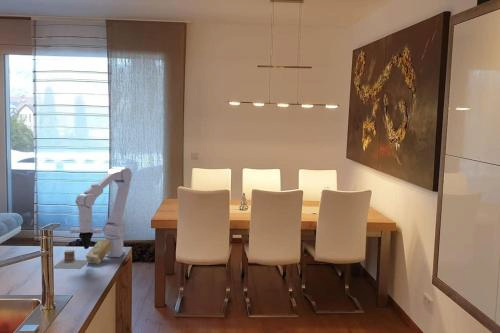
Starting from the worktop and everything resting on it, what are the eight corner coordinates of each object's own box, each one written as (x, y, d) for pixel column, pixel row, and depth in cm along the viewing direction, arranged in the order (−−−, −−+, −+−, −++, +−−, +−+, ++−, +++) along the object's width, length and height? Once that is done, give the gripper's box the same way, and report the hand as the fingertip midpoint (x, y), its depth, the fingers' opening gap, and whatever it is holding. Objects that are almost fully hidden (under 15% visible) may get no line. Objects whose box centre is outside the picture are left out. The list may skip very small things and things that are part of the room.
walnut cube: (65, 258, 231) (65, 250, 231) (74, 258, 232) (74, 250, 232) (64, 260, 227) (64, 252, 227) (73, 260, 228) (73, 251, 228)
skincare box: (85, 256, 223) (98, 238, 233) (87, 262, 225) (101, 245, 235) (97, 257, 221) (110, 240, 231) (99, 264, 223) (112, 247, 233)
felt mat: (62, 260, 229) (62, 259, 229) (89, 260, 229) (89, 260, 228) (51, 268, 217) (51, 267, 217) (80, 269, 217) (80, 268, 217)
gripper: (66, 221, 216) (67, 250, 218) (98, 222, 216) (99, 251, 218) (72, 218, 223) (73, 246, 225) (103, 218, 223) (104, 246, 225)
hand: (86, 248), depth 222 cm, fingers closed
